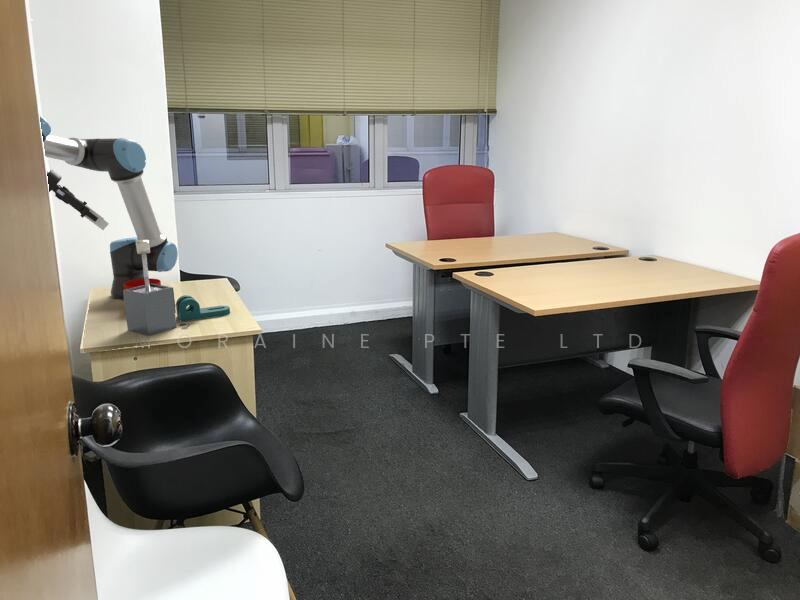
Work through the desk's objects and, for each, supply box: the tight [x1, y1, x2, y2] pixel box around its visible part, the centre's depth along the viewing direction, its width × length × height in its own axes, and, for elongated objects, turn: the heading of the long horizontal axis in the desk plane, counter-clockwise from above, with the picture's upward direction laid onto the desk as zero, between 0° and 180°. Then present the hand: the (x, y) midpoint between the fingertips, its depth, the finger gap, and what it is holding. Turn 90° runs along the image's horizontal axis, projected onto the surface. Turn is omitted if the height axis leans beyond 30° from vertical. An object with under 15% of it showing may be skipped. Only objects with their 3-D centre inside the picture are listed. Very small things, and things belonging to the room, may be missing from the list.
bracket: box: [175, 294, 231, 323], centre depth 227 cm, size 18×7×8 cm, turn 120°
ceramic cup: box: [124, 278, 162, 290], centre depth 236 cm, size 13×17×10 cm
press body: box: [123, 283, 177, 337], centre depth 212 cm, size 15×11×14 cm
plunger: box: [133, 240, 163, 293], centre depth 207 cm, size 9×9×17 cm
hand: (103, 224), depth 198 cm, fingers open, 13 cm apart
